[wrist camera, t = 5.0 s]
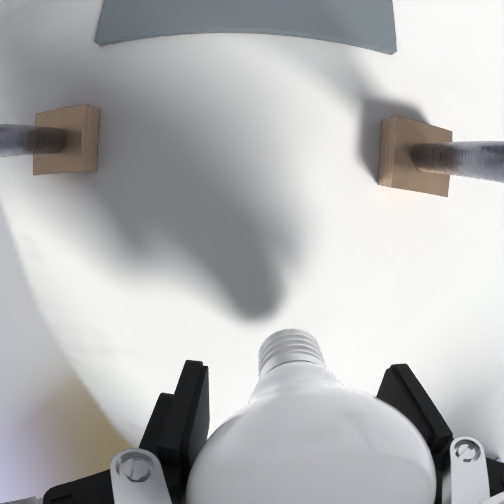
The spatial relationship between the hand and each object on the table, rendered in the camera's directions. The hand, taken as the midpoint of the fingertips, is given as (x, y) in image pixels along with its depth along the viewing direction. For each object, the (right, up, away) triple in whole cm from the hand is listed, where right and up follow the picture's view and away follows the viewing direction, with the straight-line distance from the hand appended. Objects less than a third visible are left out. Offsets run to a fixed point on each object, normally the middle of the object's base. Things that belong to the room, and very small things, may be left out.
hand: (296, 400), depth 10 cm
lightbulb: (0, +1, +4) cm, 4 cm away
